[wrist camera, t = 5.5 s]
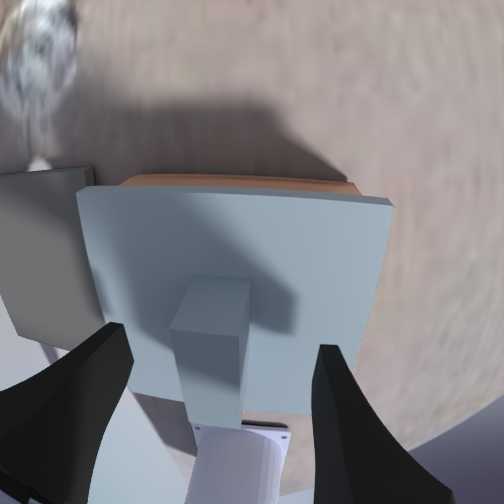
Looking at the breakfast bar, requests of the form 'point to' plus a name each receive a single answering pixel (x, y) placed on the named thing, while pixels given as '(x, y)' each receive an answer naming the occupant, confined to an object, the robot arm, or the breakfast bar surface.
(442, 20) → the breakfast bar surface
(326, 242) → the lid
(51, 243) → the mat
